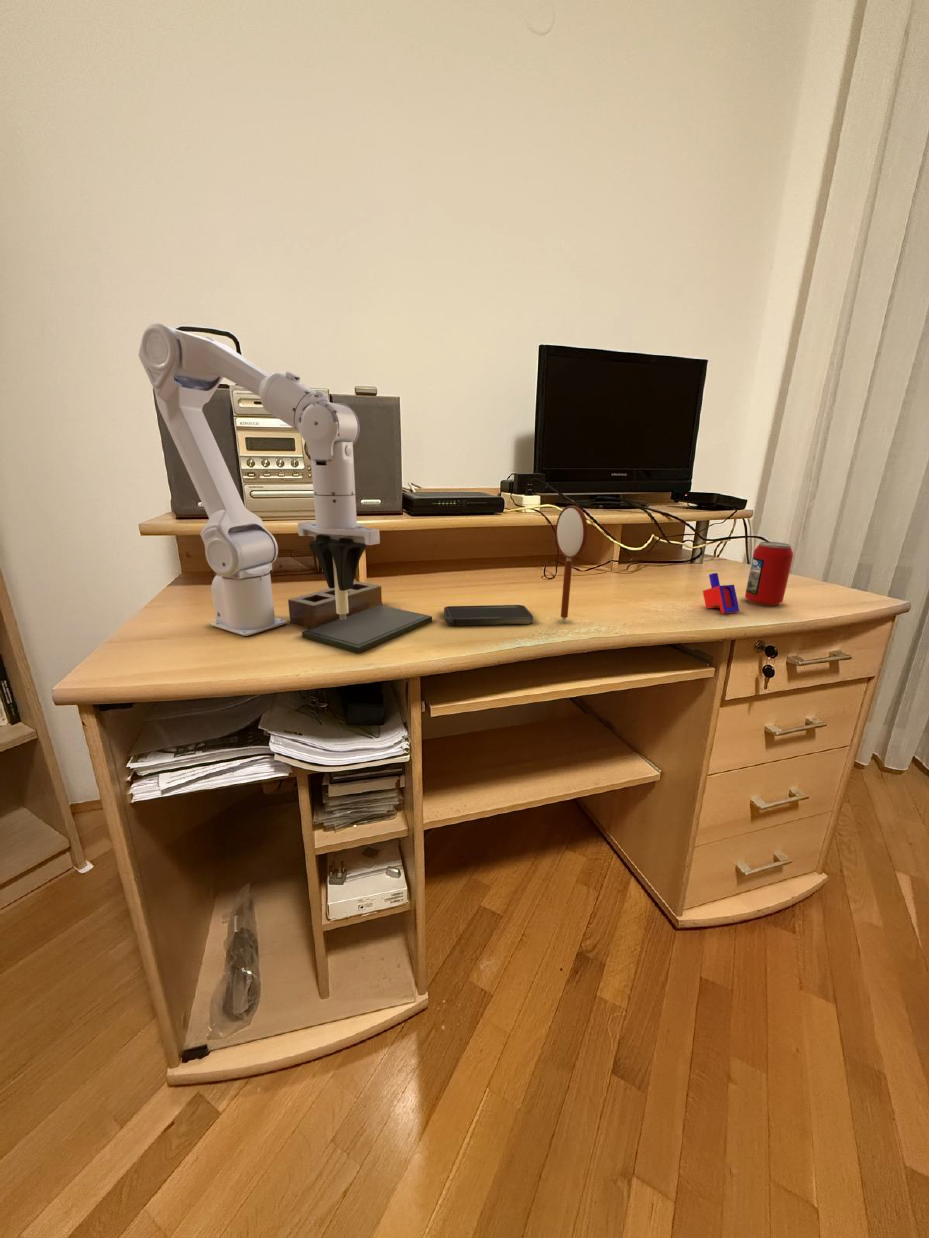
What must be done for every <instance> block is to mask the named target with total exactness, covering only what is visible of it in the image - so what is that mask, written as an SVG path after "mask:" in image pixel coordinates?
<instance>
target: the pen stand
mask: <svg viewBox="0 0 929 1238" xmlns="http://www.w3.org/2000/svg"><path fill="white" fill-rule="evenodd" d="M347 594H348V610H349V612H348V613H347V614H346V616H349V615H352V614H354V613H357V612H360V611H363V610H366V609H369V608H372V607H375V606H378V605H383V598H382V597H383V596H382V585H378V584H374V583H368V582H364V581H357V580H354V583H353V588H352V589H348V590H347ZM287 604H288V605H287V606H288V614H289V622H290V623H292V624H296V625H300V626H303V627H307V628H310V629H311V628H314V627H317V626H320V625H322V624H325V623H328V622H331V621H334V620H337V619H340V617H339V614H337V613H336V599H335V588H332V589H331V588H329V587H328V588H325V589H322V590H318V591H315V592H311V593H307V594H303V595H300V596H295V597H292V598H289V599H287Z"/></svg>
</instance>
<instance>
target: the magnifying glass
mask: <svg viewBox="0 0 929 1238" xmlns="http://www.w3.org/2000/svg"><path fill="white" fill-rule="evenodd" d="M588 538H589V525H588V521H587V517H586V515H585V513H584V512H583V510H582V509H581V508H580V507H579V506H578V505H567V506H565V507H564V508H563V509H562V510H561V511H560V513H559V515H558V517H557V519H556V524H555V540H556V545H557V548H558V550H559V552H560V553H561V555H562V556H564V557H565V558H566V559H565V560H564V568H563V570H564V571H563V581H562V582H563V583H562V595H561V606H560V608H561V609H560V618H561V623H565V622H566V621H567V618H568V617H569V605H570V594H571V581H572V571H573V560H574V559H576V558H578V557H580V556H581V554H583V552H584V550H585V549H586V547H587V544H588ZM572 559H573V560H572Z"/></svg>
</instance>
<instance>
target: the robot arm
mask: <svg viewBox="0 0 929 1238" xmlns="http://www.w3.org/2000/svg"><path fill="white" fill-rule="evenodd" d="M138 350H139V351H138V357H139V360H140V362H141V364H142V367H143V369H144V371H145V373H146V375H147V378H148V381H149V382H150V384H151V387H152V389H153V390H154V395H155V400H156V404H157V407H158V410H159V412H160V414H161V417H162V419H163V421H164V423H165V425H166V427H167V430H168V432H169V434H170V436H171V438H172V440H173V443H174V445H175V447H176V449H177V451H178V454H179V456H180V458H181V460H182V462H183V464H184V467H185V469H186V471H187V473H188V475H189V478H190V479H191V482H192V484H193V487H194V489H195V491H196V493H197V495H198V498H199V500H200V501H201V504H202V507H203V508H204V510H205V512H206V516H207V517H208V520H207V522H206V524H205V525H204V527H203V528H202V529H201V531H200V533H199V535H200V537H201V540H202V542H203V545H204V553H205V559H206V561H207V563H208V565H209V567H210V568H211V569H212V571H214V573H216V575H215V576H214V577H213V580H212V582H211V587H210V589H211V590H210V591H211V598H212V603H213V612H214V617H215V621H212V622H211V623H210V625H211V627H215V628H218V629H221V630H225V631H227V632H230V633H234V634H237V635H240V636H244V637H248V636H251V635H255V634H258V633H262V632H264V631H267V630H271V629H273V628H277V627H281V626H283V625H286V624H287V623H288V621H287V620H286V619H283V618H280V617H279V618H278V617H276V615H275V614H276V613H275V606H274V597H273V587H272V578H271V571H272V570H273V563H275V562H276V560H277V558H278V555H279V545H278V543H277V540H276V538H275V536H274V535H273V534H272V533H271V532H270V531H269V530H268V528H266V526H265V524H264V522H263V519H262V518H261V517H260V516H258V515H257V514H255V513H253V512H252V511H250V510H249V509H247V507H246V506H245V504H244V502H243V500H242V498H241V496H240V493H239V490H238V489H237V487H236V484H235V482H234V479H233V477H232V474H231V473H230V470H229V468H228V466H227V463H226V462H225V459H224V457H223V455H222V453H221V450H220V448H219V446H218V443H217V441H216V439H215V436H214V434H213V432H212V430H211V428H210V426H209V423H208V421H207V418H206V416H205V414H204V412H203V408H204V405H205V404H207V403H209V402H210V400H211V399H212V397H213V396H214V393H215V392H216V390H217V389H218V387H219V386H220V384H221V383H222V381H223V379H226V380H228V381H229V382H232V383H233V384H235V385H237V386H239V387H241V388H243V389H245V390H246V391H248V392H250V393H252V394H254V395H255V396H257V397H259V398H260V399H259V400H260V403H261V406H262V408H263V409H264V411H266V412H267V413H269V414H270V415H272V416H273V417H275V418H277V419H278V420H280V421H281V422H283V423H285V424H287V425H288V426H289V427H292V428H293V429H295V430H296V431H298V432H299V434H300V436H301V438H302V439H303V440H304V442H305V444H306V446H307V453H308V454H307V455H308V456H309V457H310V465H311V476H312V477H311V478H312V489H313V490H312V491H313V503H314V516H315V521H303V522H302V521H301V522H297V531H298V533H297V534H298V536H300V537H307V536H308V537H313V538H315V540H313V541H308V547H309V549H310V550H311V551H312V552H313V554H314V556H315V557H316V559H317V561H318V563H319V566H320V567H321V570H322V573H323V575H324V578H325V581H326V584H327V587H328V589H329V588H331V589H332V588H335V585H334V570H333V559H334V562H335V566H336V572H337V581H338V586H339V589H340V590H341V591H345V590H348V589H352V588H353V583H354V582H355V578H356V573H357V569H358V565H359V562H360V560H361V558H362V555H363V554H364V552H365V550H366V548H367V546H373V545H374V546H375V545H379V544H380V543H381V536H380V535H381V534H380V529H377V528H372V527H371V528H370V527H367V526H362V525H361V523H358V519H357V518H358V517H357V501H356V482H355V480H356V478H355V461H354V459H355V458H354V444H355V443H356V442H357V440H358V438H359V436H360V429H361V425H360V420H359V417H358V416H357V414H356V413H355V411H354V410H353V409H352V408H350V406H349V405H348V404H347V403H344V402H335V403H334V402H330V400H329V399H328V397H329V396H328V394H327V393H326V392H324V391H323V390H314V389H312V388H311V387H309V386H307V384H306V385H305V384H304V383H302V382H301V381H300V380H301V376H300V375H299V374H296V373H295V372H293V371H286V372H283V371H276V372H274V373H272V374H270V373H268V371H265V370H264V369H263V368H261V367H259V366H258V365H257V364H255V363H253V362H252V361H250V360H249V359H247V358H246V357H245V356H244V355H241V354H240V353H239V352H237V351H235V350H234V349H233V348H231V347H230V346H228V345H227V344H224V343H222V342H219V341H217V340H216V339H215V338H212V337H209V336H200V335H198V334H195V333H194V334H193V333H190V332H187V331H183V330H180V329H177V328H173V327H169V326H168V325H165V324H163V323H160V322H153V323H151V324H149V325H148V326H147V327H146V328H145V329H144V331H143V334H142V337H141V342H140V346H139V349H138Z"/></svg>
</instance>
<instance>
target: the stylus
mask: <svg viewBox="0 0 929 1238" xmlns="http://www.w3.org/2000/svg"><path fill="white" fill-rule="evenodd" d="M333 570H334V585H335V599H336V613H337V614H339V617H340V620H345V619H346V614H347V613H348V612H349V610H348V594H347V590H345V591H341V590H340V589H339V586H338V581H337V572H336V566H335V562H334V559H333Z"/></svg>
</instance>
